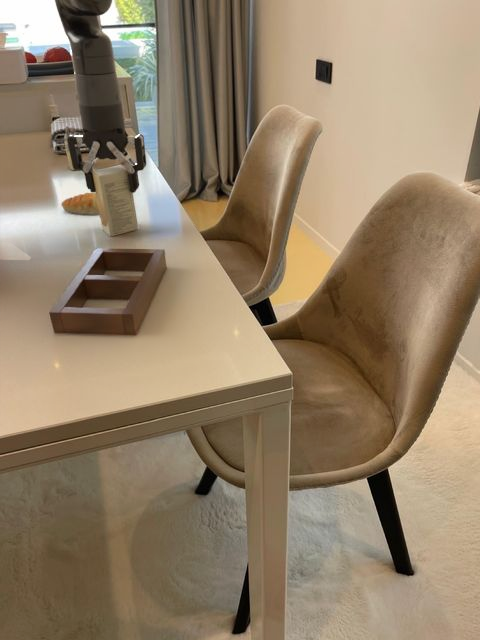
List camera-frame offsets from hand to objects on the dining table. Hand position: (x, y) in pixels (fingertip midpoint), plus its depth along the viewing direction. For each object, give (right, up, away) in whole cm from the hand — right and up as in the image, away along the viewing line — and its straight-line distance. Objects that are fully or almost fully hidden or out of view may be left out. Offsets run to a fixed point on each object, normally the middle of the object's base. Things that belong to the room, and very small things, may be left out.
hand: (113, 191), depth 109 cm
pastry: (-9, 0, +14) cm, 17 cm away
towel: (-24, +30, +60) cm, 71 cm away
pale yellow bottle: (-22, +18, +42) cm, 51 cm away
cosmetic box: (0, -7, +5) cm, 8 cm away
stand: (+6, -24, -22) cm, 33 cm away
